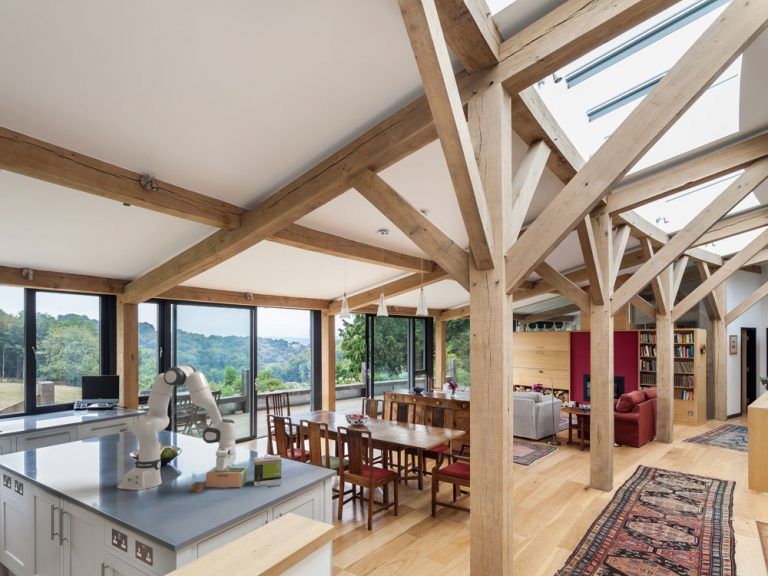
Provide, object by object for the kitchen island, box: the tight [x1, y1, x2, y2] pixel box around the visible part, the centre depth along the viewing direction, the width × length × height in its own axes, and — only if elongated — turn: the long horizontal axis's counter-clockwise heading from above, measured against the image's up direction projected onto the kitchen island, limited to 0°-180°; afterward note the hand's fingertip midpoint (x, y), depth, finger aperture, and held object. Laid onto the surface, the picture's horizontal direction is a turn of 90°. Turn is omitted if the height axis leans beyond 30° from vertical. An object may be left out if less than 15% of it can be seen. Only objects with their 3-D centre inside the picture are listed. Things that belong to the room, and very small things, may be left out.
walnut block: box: [190, 481, 205, 493], centre depth 239 cm, size 5×5×5 cm
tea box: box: [253, 454, 282, 487], centre depth 253 cm, size 15×10×15 cm, turn 108°
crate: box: [205, 466, 250, 488], centre depth 250 cm, size 20×12×8 cm, turn 89°
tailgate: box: [205, 471, 241, 488], centre depth 244 cm, size 19×1×8 cm, turn 89°
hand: (226, 474), depth 248 cm, fingers closed
